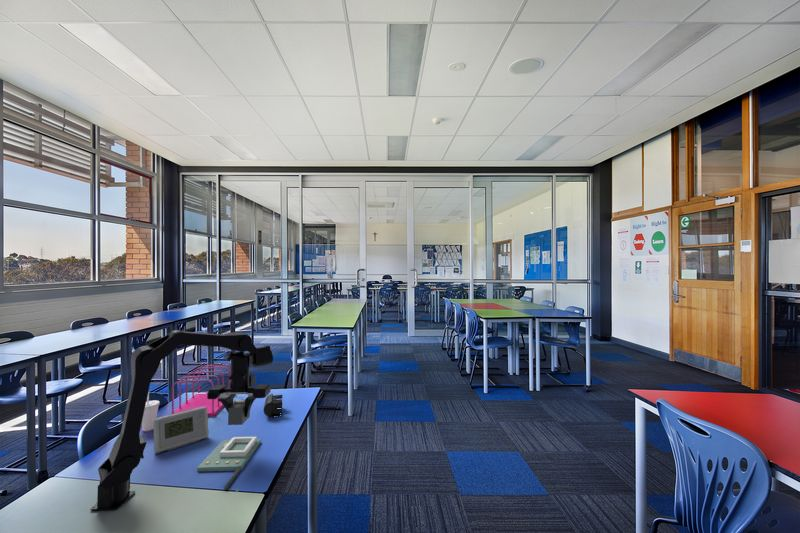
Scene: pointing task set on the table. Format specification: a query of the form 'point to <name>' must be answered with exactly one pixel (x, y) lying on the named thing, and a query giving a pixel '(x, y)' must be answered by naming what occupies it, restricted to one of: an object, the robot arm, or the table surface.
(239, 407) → the plug
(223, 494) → the table surface
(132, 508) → the table surface
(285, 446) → the table surface
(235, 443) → the header board
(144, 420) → the smoothie
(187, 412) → the digital clock
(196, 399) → the file sorter
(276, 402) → the power adapter
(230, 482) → the lead
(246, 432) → the table surface
